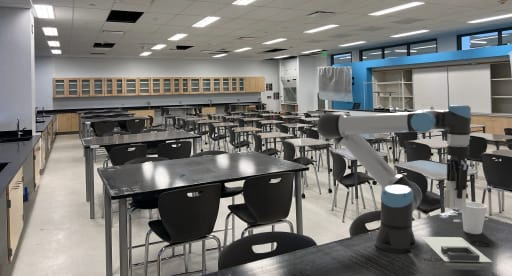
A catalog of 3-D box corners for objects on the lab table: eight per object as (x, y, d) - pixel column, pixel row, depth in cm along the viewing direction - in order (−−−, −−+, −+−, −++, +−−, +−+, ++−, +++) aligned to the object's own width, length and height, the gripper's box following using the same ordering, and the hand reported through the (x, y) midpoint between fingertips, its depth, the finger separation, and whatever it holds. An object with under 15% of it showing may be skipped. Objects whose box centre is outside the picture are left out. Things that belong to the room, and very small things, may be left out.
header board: (444, 265, 132) (445, 255, 132) (420, 240, 155) (421, 232, 154) (492, 266, 131) (492, 256, 130) (461, 240, 154) (461, 232, 153)
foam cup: (487, 234, 161) (489, 204, 159) (482, 240, 154) (483, 209, 153) (463, 229, 167) (464, 200, 166) (456, 234, 160) (458, 205, 159)
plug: (446, 208, 146) (447, 183, 145) (442, 205, 150) (443, 180, 149) (468, 208, 146) (469, 183, 145) (463, 205, 150) (464, 181, 148)
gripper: (479, 148, 137) (476, 211, 139) (457, 142, 153) (455, 198, 156) (458, 148, 137) (455, 210, 140) (438, 142, 154) (436, 198, 156)
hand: (455, 204), depth 148 cm, fingers closed on plug, 4 cm apart
